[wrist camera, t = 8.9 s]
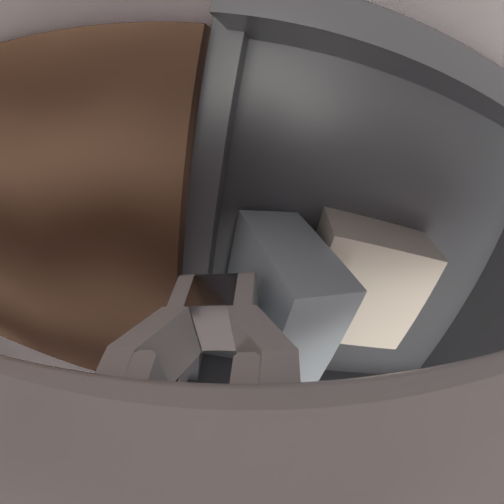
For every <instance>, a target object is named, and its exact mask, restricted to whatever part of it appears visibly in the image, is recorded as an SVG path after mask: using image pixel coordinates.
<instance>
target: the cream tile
mask: <svg viewBox="0 0 504 504" xmlns="http://www.w3.org/2000/svg"><path fill="white" fill-rule="evenodd" d="M316 233H317V234H318V235H319V236H320V237H321V238H322V240H323V241H324V242H325V243H326V244H327V245H328V246H329V247H330V249H331V250H332V251H333V252H334V253H335V254H336V255H337V257H338V258H339V259H340V260H341V261H342V262H343V263H344V265H345V266H346V267H347V268H348V269H349V270H350V271H351V273H352V274H353V275H354V276H355V277H356V278H357V280H358V281H359V282H360V283H361V284H362V285H363V287H364V288H365V289H366V290H367V293H366V295H365V297H364V299H363V301H362V303H361V305H360V307H359V309H358V311H357V313H356V315H355V317H354V318H353V320H352V322H351V324H350V326H349V328H348V330H347V332H346V334H345V335H344V337H343V339H342V341H341V343H340V344H347V345H356V346H365V347H375V348H385V349H396V348H397V346H398V345H399V344H400V342H401V341H402V339H403V338H404V336H405V335H406V333H407V331H408V330H409V328H410V327H411V325H412V324H413V322H414V320H415V319H416V317H417V316H418V314H419V312H420V311H421V309H422V307H423V306H424V304H425V302H426V301H427V299H428V297H429V296H430V294H431V292H432V290H433V289H434V287H435V285H436V283H437V282H438V280H439V278H440V276H441V274H442V272H443V271H444V269H445V267H446V265H447V263H448V262H447V261H446V259H445V258H444V257H443V255H442V254H441V253H440V251H439V250H438V249H437V247H436V246H435V245H434V243H433V242H432V241H431V240H430V238H429V237H428V236H427V234H426V233H425V232H422V231H418V230H415V229H411V228H408V227H404V226H400V225H397V224H393V223H389V222H385V221H382V220H378V219H374V218H370V217H366V216H362V215H358V214H354V213H350V212H346V211H342V210H338V209H333V208H329V207H325V206H324V208H323V212H322V215H321V218H320V221H319V224H318V227H317V230H316Z"/></svg>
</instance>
